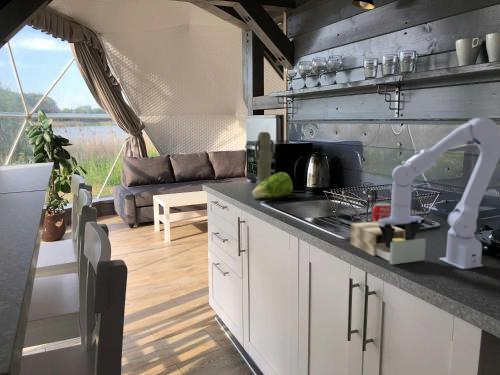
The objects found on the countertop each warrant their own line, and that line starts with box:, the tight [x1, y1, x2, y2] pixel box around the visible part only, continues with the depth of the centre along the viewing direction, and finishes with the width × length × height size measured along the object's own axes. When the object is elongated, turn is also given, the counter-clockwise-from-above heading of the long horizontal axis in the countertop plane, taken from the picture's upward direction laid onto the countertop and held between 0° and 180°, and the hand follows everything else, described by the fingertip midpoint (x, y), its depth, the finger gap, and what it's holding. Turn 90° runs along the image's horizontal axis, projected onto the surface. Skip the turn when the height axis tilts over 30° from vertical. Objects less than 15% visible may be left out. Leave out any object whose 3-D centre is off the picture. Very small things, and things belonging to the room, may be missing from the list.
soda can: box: [371, 202, 391, 222], centre depth 163 cm, size 7×7×12 cm
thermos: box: [254, 131, 275, 187], centre depth 254 cm, size 9×12×35 cm
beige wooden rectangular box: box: [349, 220, 406, 257], centre depth 147 cm, size 14×12×7 cm
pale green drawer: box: [376, 237, 427, 265], centre depth 139 cm, size 14×12×7 cm
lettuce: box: [251, 171, 294, 199], centre depth 237 cm, size 14×23×13 cm, turn 116°
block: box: [389, 238, 405, 253], centre depth 137 cm, size 4×4×5 cm
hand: (398, 246), depth 137 cm, fingers open, 7 cm apart
